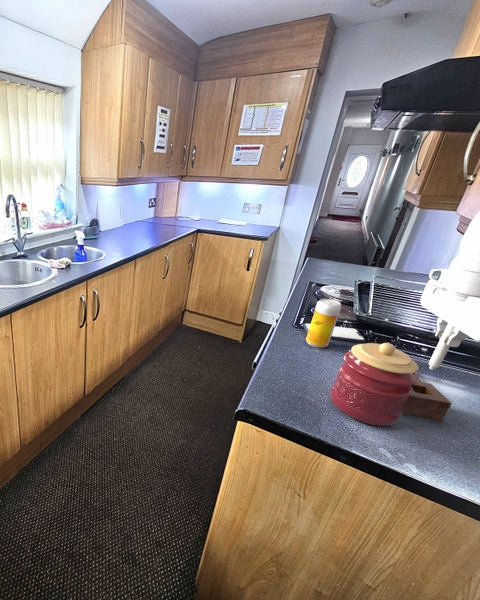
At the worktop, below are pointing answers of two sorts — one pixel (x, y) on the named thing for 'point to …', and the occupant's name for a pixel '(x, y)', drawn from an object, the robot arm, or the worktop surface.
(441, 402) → the pen stand
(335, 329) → the phone case
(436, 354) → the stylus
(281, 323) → the worktop surface
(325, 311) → the pint of beer
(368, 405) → the kitchen canister
